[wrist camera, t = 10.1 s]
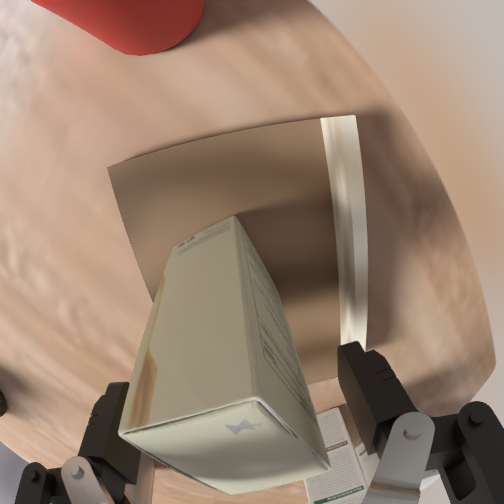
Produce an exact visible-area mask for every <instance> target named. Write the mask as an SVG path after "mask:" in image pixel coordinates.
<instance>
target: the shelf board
mask: <svg viewBox="0 0 504 504" xmlns="http://www.w3.org/2000/svg"><path fill="white" fill-rule="evenodd" d="M107 169H108V172H109V176H110V180H111V183H112V187H113V190H114V194H115V197H116V200H117V204H118V207H119V210H120V213H121V217H122V220H123V223H124V226H125V229H126V232H127V235H128V238H129V241H130V244H131V246H132V249H133V252H134V255H135V258H136V260H137V263H138V266H139V268H140V271H141V274H142V276H143V279H144V281H145V284H146V286H147V289H148V291H149V294H150V296H151V299H152V301H153V303H154V301H155V297H156V295H157V292H158V289H159V286H160V283H161V280H162V277H163V274H164V271H165V268H166V265H167V263H168V260H169V257H170V255H171V252H172V249H173V247H174V246H176V245H177V244H179V243H181V242H182V241H184V240H186V239H187V238H189V237H191V236H193V235H195V234H197V233H198V232H200V231H202V230H204V229H206V228H208V227H210V226H212V225H214V224H216V223H218V222H221V221H223V220H225V219H227V218H229V217H231V216H236V217H237V219H238V220H239V222H240V224H241V225H242V227H243V228H244V230H245V232H246V233H247V235H248V237H249V239H250V240H251V242H252V244H253V245H254V247H255V249H256V251H257V253H258V254H259V256H260V258H261V260H262V262H263V263H264V265H265V267H266V269H267V271H268V273H269V275H270V276H271V278H272V280H273V282H274V284H275V286H276V288H277V290H278V292H279V296H280V299H281V302H282V305H283V309H284V312H285V315H286V318H287V321H288V325H289V328H290V331H291V334H292V338H293V341H294V344H295V347H296V351H297V354H298V357H299V360H300V364H301V367H302V370H303V374H304V377H305V380H306V383H307V385H308V384H312V383H316V382H320V381H324V380H328V379H332V378H335V377H338V361H337V348H338V346H340V345H343V344H347V343H350V342H354V341H359V343H360V344H361V346H362V348H363V349H364V351H365V348H366V332H367V309H368V243H367V220H366V204H365V191H364V180H363V170H362V160H361V152H360V144H359V137H358V130H357V123H356V117H355V115H349V116H337V117H327V118H318V119H310V120H302V121H295V122H288V123H281V124H275V125H269V126H263V127H257V128H252V129H247V130H241V131H236V132H232V133H227V134H222V135H218V136H213V137H209V138H205V139H201V140H197V141H192V142H189V143H185V144H181V145H177V146H173V147H170V148H166V149H163V150H159V151H156V152H152V153H149V154H146V155H143V156H139V157H136V158H133V159H130V160H127V161H124V162H121V163H118V164H115V165H112V166H109V167H107Z"/></svg>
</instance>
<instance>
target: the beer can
mask: <svg viewBox="0 0 504 504" xmlns="http://www.w3.org/2000/svg"><path fill="white" fill-rule="evenodd" d="M31 1H32V2H34V3H36V4H38V5H40V6H42V7H44V8H46V9H47V10H49V11H51V12H53V13H55V14H57V15H59V16H60V17H62V18H64V19H66V20H68V21H69V22H71V23H73V24H75V25H76V26H78V27H80V28H81V29H83V30H85V31H86V32H88V33H90V34H91V35H93V36H95V37H96V38H98V39H100V40H101V41H103V42H104V43H106V44H108V45H109V46H111V47H112V48H114V49H116V50H118V51H120V52H122V53H124V54H129V55H138V56H142V55H149V54H155V53H159V52H161V51H163V50H166V49H168V48H171V47H173V46H175V45H176V44H177V43H179V42H180V41H182V40H183V39H184V38H186V37H187V36H188V35H189V34H190V33H191V32H192V30H193V29H194V28H195V27H196V26H197V25H198V23H199V21H200V18H201V16H202V14H203V12H204V0H31Z"/></svg>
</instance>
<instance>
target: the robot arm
mask: <svg viewBox="0 0 504 504" xmlns="http://www.w3.org/2000/svg"><path fill="white" fill-rule="evenodd" d="M337 361H338V380H339V384H340V387H341V389H342V392H343V394H344V397H345V399H346V402H347V404H348V406H349V409H350V411H351V414H352V416H353V419H354V421H355V424H356V426H357V429H358V431H359V434H360V436H361V439H362V441H363V444H364V446H365V449H366V451H367V454H368V455H371V454H374V453H377V455H378V458H379V460H380V462H379V464H378V467H377V469H376V471H375V474H374V476H373V479H372V481H371V483H370V485H369V488H368V490H367V492H366V494H365V496H364V498H363V501H362V503H361V504H418V502H419V498H420V485H421V481H422V478H423V475H424V472H425V471H429V470H435V469H438V472H439V474H440V477H441V479H442V482H443V484H444V487H445V489H446V492H447V495H448V497H449V500H450V502H451V504H504V428H503V427H502V425H501V423H500V422H499V420H498V418H497V417H496V415H495V414H494V412H493V410H492V409H491V408H490V406H488V405H487V404H486V403H483V402H479V401H474V402H470V403H468V404H466V405H465V406H464V407H462V409H461V410H460V412H459V413H458V414H453V415H447V416H442V417H429V416H427V415H426V414H423V413H420V412H419V411H418V410H417V409H416V408H415V406H414V405H413V403H412V401H411V400H410V398H409V396H408V395H407V393H406V391H405V390H404V388H403V386H402V385H401V383H400V381H399V380H398V378H396V375H395V373H394V371H393V370H392V369H391V367H390V365H389V363H388V362H387V360H386V359H385V357H384V356H382V355H381V354H379V353H378V352H376V351H375V350H371V351H368V352H365V351H364V349H363V348H362V346H361V344H360V343H359V341H354V342H350V343H347V344H343V345H340V346H338V348H337ZM129 385H130V383H129V382H115V383H110V384H109V385H108V387H107V390H106V393H105V395H102V396H101V397H100V398H99V400H98V401H97V402H96V403H95V405H94V407H93V410H92V413H91V417H90V419H89V422H88V424H89V425H87V428H86V431H85V434H84V437H83V440H82V444H81V447H80V450H79V453H78V456H75V457H71V458H70V459H68V460H67V461H66V462H65V463H64V464H63V466H62V467H61V468H54V469H46V468H45V467H44V466H43V465H41V464H40V463H38V462H33V463H30V464H28V465H27V466H26V467H25V469H24V471H23V474H22V477H21V480H20V484H19V488H18V492H17V496H16V500H15V504H50V503H51V504H152V494H153V484H154V475H155V468H154V464H155V462H154V459H153V458H151V457H150V456H148V455H147V454H145V453H143V452H142V451H140V450H139V449H137V448H136V447H135V446H133V445H131V444H130V443H129V442H127V441H126V440H124V439H123V438H121V437H120V436H119V434H118V430H119V426H120V422H121V417H122V413H123V409H124V405H125V400H126V397H127V393H128V389H129Z"/></svg>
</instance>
